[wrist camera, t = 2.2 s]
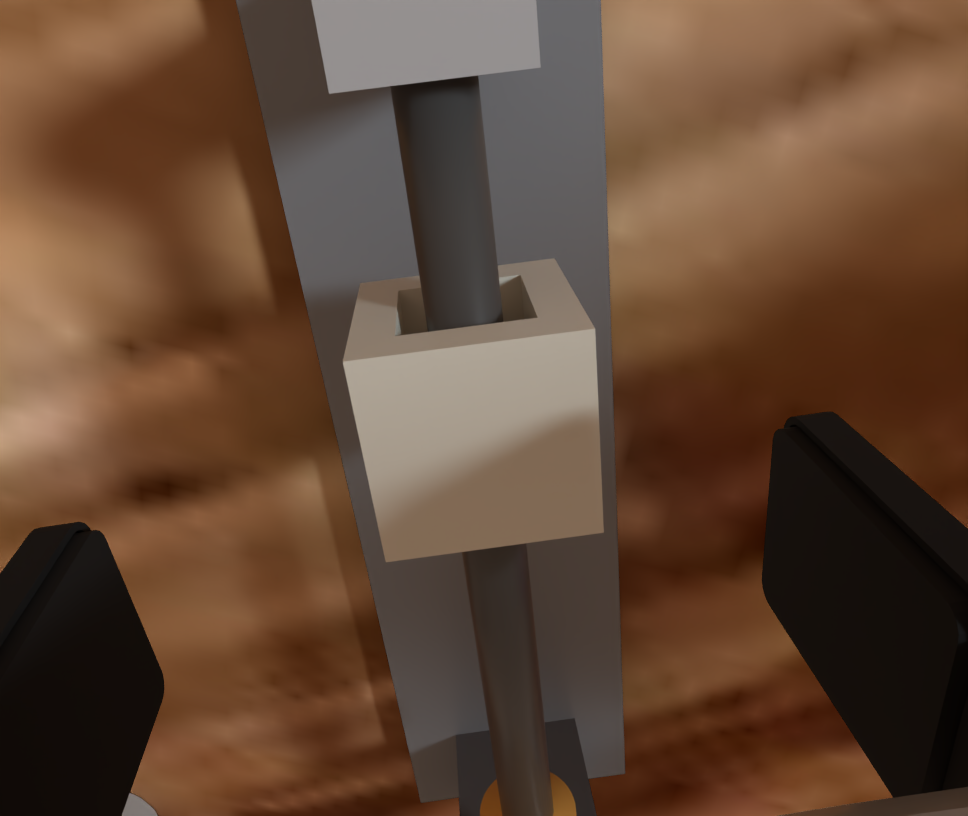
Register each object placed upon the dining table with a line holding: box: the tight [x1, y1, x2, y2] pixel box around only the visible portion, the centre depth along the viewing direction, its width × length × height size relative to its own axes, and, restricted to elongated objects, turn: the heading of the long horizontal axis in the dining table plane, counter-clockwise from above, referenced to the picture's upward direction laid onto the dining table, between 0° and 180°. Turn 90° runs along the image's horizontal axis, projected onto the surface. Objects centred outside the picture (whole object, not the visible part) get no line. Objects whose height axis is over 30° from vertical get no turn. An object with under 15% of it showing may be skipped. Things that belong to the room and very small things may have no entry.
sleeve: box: [343, 258, 604, 562], centre depth 14 cm, size 4×4×4 cm
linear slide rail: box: [236, 0, 625, 816], centre depth 19 cm, size 8×28×9 cm, turn 6°
